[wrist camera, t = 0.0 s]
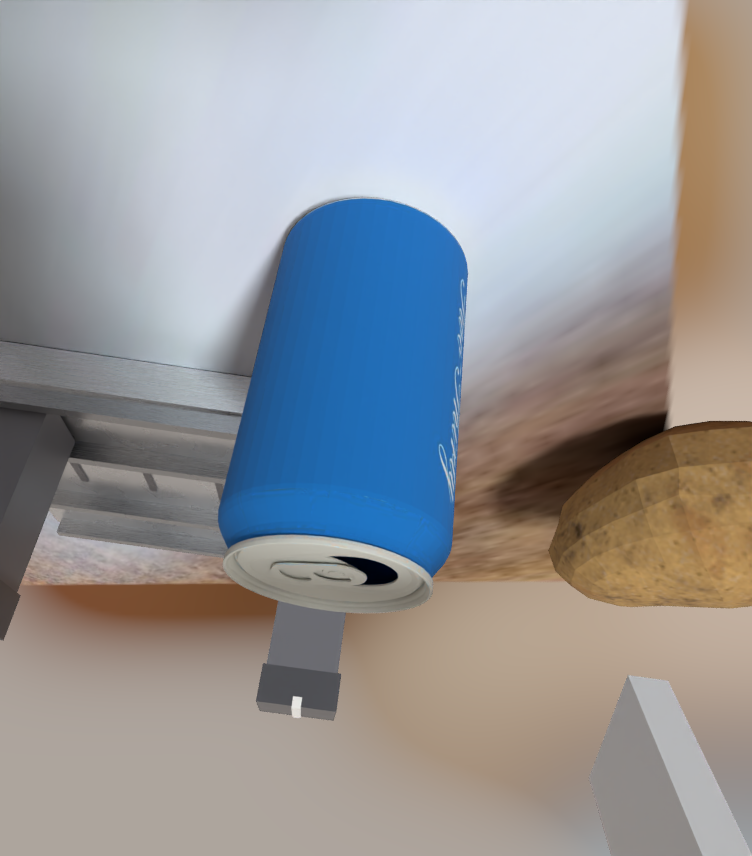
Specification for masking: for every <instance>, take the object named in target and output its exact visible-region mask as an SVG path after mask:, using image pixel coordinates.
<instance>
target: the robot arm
mask: <svg viewBox="0 0 752 856" xmlns="http://www.w3.org/2000/svg"><path fill="white" fill-rule="evenodd" d="M589 780H590V784H591V787H592V790H593V794H594V797H595V801H596V804H597V808H598V811H599V815H600V818H601V821H602V825H603V829H604V832H605V836H606V839H607V843H608V846H609V850H610V853H611V856H752V854H751V852H750V850H749V848H748V846H747V844H746V842H745V840H744V838H743V835H742V833H741V832H740V829H739V827H738V825H737V823H736V821H735V819H734V817H733V815H732V813H731V811H730V808H729V807H728V804H727V802H726V800H725V798H724V796H723V794H722V792H721V790H720V788H719V786H718V784H717V781H716V779H715V777H714V775H713V773H712V771H711V769H710V767H709V765H708V763H707V761H706V759H705V757H704V755H703V752H702V750H701V748H700V746H699V744H698V742H697V740H696V738H695V736H694V734H693V732H692V730H691V728H690V726H689V724H688V722H687V719H686V717H685V715H684V713H683V711H682V709H681V707H680V705H679V703H678V701H677V698H676V696H675V694H674V693H673V690H672V689H671V686H670V684H669V682H668V681H667V680H660V679H652V678H645V677H637V676H630V675H628V676H627V679H626V682H625V684H624V687H623V689H622V692H621V695H620V697H619V700H618V703H617V705H616V708H615V711H614V713H613V716H612V718H611V721H610V724H609V726H608V729H607V732H606V734H605V737H604V740H603V742H602V745H601V747H600V750H599V753H598V756H597V758H596V761H595V763H594V766H593V769H592V771H591V774H590V777H589Z"/></svg>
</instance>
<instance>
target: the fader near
mask: <svg viewBox="0 0 752 856" xmlns="http://www.w3.org/2000/svg"><path fill="white" fill-rule="evenodd" d="M74 443H75V440H74V438H73V437H72V435H71V433H70V432H69V430H68V428H67V427H66V425H65V423H64V422H63V420H62V418H61V417H60V415H53V414H46V413H39V412H32V411H25V410H18V409H11V408H4V407H0V640H4V637H5V635H6V632H7V630H8V627H9V625H10V622H11V619H12V617H13V614H14V611H15V609H16V606H17V604H18V601H19V598H20V595H19V594H18V593H17V591H18V589H19V586H20V584H21V581H22V578H23V576H24V573H25V571H26V568H27V565H28V563H29V560H30V558H31V555H32V552H33V550H34V547H35V545H36V542H37V539H38V537H39V534H40V532H41V529H42V527H43V524H44V521H45V519H46V516H47V514H48V511H49V508H50V506H51V503H52V501H53V498H54V495H55V493H56V490H57V488H58V485H59V482H60V480H61V477H62V475H63V472H64V469H65V467H66V464H67V462H68V459H69V456H70V454H71V451H72V449H73V446H74Z"/></svg>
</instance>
